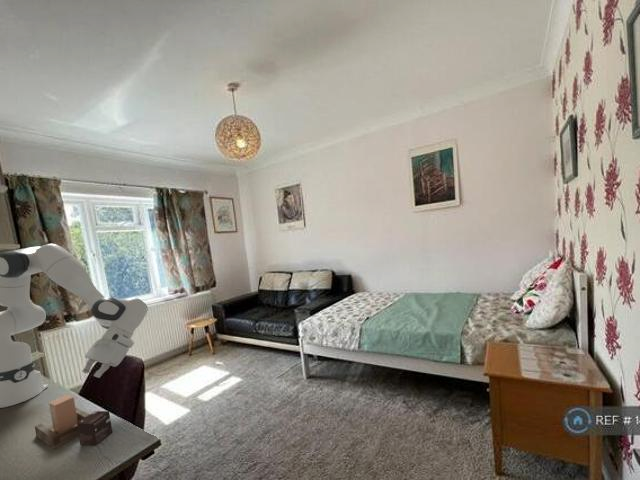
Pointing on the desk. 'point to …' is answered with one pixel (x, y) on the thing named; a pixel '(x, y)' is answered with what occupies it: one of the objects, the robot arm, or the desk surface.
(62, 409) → the block
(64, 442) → the cradle
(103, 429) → the box
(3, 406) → the robot arm
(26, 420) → the desk surface
